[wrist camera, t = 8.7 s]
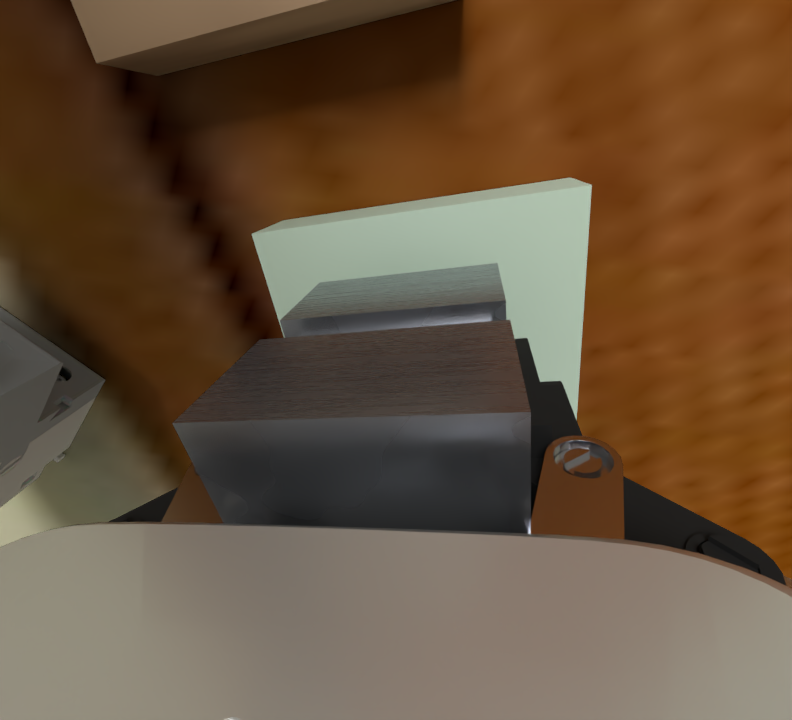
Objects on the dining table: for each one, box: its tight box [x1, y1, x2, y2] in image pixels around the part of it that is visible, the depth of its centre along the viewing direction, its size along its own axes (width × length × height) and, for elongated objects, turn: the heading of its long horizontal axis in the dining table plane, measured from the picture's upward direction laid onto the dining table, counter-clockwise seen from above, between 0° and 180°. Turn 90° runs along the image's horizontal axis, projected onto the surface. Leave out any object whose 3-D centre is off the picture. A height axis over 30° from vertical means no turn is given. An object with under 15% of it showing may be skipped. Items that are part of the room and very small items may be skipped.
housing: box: [172, 263, 531, 534], centre depth 10 cm, size 7×5×7 cm
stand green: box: [252, 178, 592, 420], centre depth 15 cm, size 10×10×2 cm
